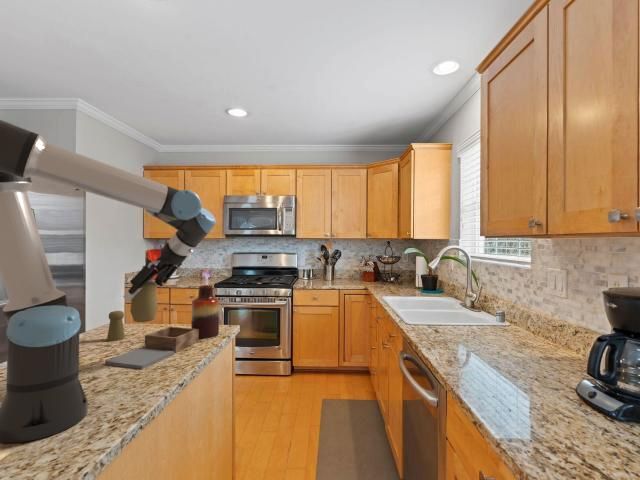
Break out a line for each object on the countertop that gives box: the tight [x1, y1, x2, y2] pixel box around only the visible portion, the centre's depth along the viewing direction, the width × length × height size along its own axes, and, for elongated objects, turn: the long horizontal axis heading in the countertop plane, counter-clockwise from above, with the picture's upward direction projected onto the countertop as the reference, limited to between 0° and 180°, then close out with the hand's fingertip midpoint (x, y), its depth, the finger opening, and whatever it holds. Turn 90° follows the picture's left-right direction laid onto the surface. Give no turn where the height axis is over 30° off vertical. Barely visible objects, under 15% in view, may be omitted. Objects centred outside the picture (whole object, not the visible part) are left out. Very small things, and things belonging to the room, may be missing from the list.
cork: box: [106, 310, 126, 342], centre depth 130 cm, size 6×6×11 cm
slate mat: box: [104, 347, 175, 370], centre depth 107 cm, size 14×14×1 cm
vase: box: [190, 285, 220, 340], centre depth 137 cm, size 11×11×20 cm
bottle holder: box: [144, 326, 200, 354], centre depth 122 cm, size 13×13×5 cm
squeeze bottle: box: [129, 265, 159, 323], centre depth 108 cm, size 8×8×18 cm
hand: (135, 297), depth 109 cm, fingers closed on squeeze bottle, 6 cm apart
